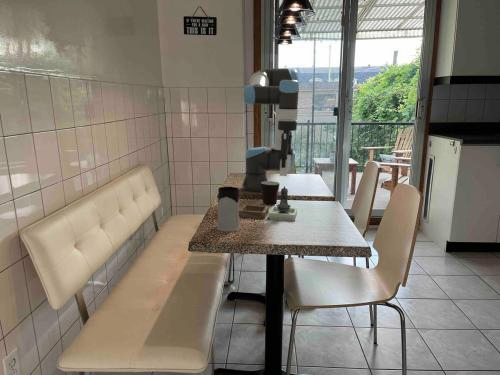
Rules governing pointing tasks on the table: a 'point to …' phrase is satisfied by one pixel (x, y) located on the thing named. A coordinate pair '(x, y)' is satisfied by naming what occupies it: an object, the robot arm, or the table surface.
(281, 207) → the marbled chess piece
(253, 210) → the walnut holder
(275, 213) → the sage tray
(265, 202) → the coffee mug
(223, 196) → the white and black cylinder
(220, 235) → the table surface
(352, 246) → the table surface
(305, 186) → the table surface
